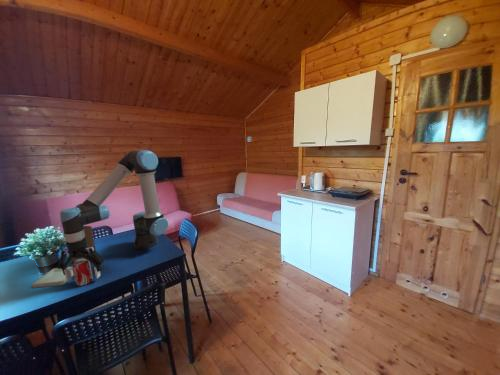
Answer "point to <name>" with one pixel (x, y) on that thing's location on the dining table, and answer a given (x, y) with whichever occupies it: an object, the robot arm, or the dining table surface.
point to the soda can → (82, 271)
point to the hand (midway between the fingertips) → (84, 278)
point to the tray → (52, 278)
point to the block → (87, 239)
